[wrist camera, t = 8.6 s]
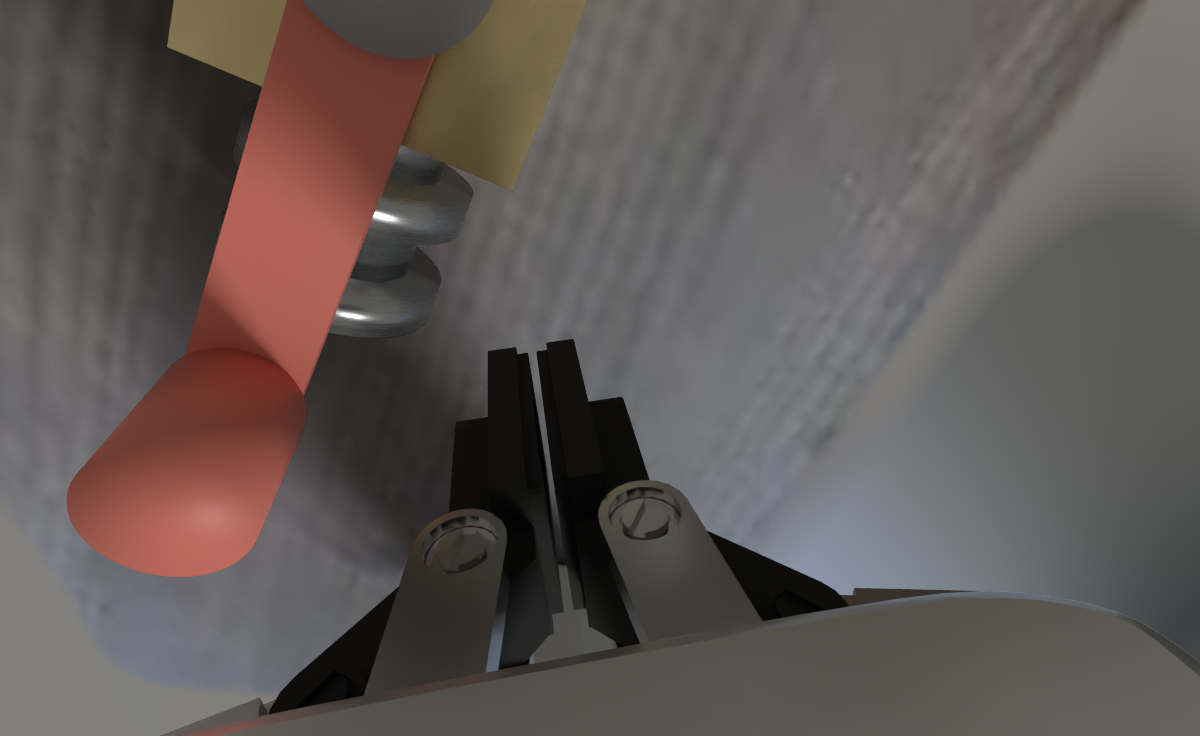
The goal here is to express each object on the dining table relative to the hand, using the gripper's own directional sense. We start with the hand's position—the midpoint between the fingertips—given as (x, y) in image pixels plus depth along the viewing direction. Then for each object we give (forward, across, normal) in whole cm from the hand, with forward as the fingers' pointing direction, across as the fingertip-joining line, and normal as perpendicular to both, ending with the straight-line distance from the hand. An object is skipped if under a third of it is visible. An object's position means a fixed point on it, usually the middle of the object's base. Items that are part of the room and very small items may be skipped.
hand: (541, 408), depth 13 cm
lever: (+4, +4, -4) cm, 7 cm away
